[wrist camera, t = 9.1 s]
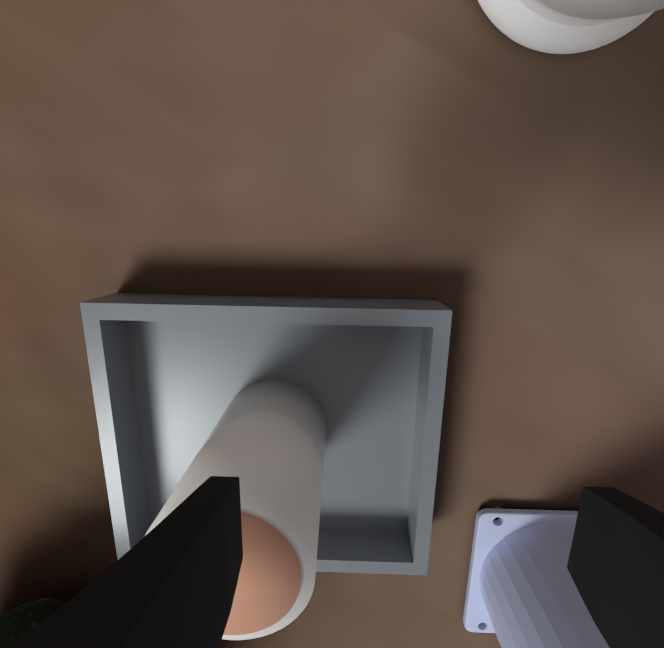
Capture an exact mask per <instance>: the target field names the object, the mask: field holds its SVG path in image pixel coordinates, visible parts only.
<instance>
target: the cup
mask: <svg viewBox="0 0 664 648" xmlns="http://www.w3.org/2000/svg"><path fill="white" fill-rule="evenodd" d="M325 442H326V419H325V415H324V413H323V410H322V408H321V406H320V405H319V403H318V402H317V400H316V399H315V398H314V397H313V396H312V395H311V394H310V393H309V392H308V391H306V390H305V389H303V388H302V387H300V386H298V385H296V384H293V383H290V382H287V381H282V380H265V381H260V382H256V383H254V384H251V385H249V386H247V387H246V388H244V389H243V390H241V391H240V392H239V393H238V394H237V395H236V396H235V397H234V399H233V400H232V401H231V403H230V404H229V406H228V408H227V409H226V411H225V412H224V414H223V415H222V417H221V418H220V420H219V421H218V423H217V424H216V426H215V428H214V429H213V431H212V432H211V434H210V435H209V437H208V438H207V440H206V441H205V443H204V445H203V446H202V448H201V449H200V451H199V452H198V454H197V455H196V457H195V458H194V460H193V461H192V463H191V465H190V466H189V468H188V469H187V471H186V472H185V474H184V475H183V477H182V478H181V480H180V482H179V483H178V485H177V486H176V488H175V489H174V491H173V492H172V494H171V495H170V497H169V498H168V500H167V502H166V503H165V505H164V506H163V508H162V509H161V511H160V512H159V514H158V515H157V517H156V519H155V520H154V522H153V523H152V525H151V526H150V528H149V529H148V531H147V532H146V535H147V534H148V533H149V532H150V531H151V530H152V529H154V528H155V527H156V526H157V525H158V524H159V523H160V522H161V521H162V520H163V519H164V518H166V517H167V516H168V515H169V514H170V513H171V512H172V511H173V510H174V509H175V508H176V507H177V506H179V505H180V504H181V503H182V502H183V501H184V500H185V499H186V498H187V497H188V496H189V495H190V494H192V493H193V492H194V491H195V490H196V489H197V488H198V487H199V486H200V485H201V484H203V483H204V482H205V481H206V480H207V479H208V478H209V477H210V476H224V477H239V483H240V503H241V524H242V545H243V560H242V564H241V569H240V573H239V578H238V582H237V587H236V591H235V595H234V599H233V604H232V608H231V612H230V615H229V618H228V622H227V625H226V628H225V631H224V634H223V637H222V639H224V640H247V639H254V638H259V637H263V636H266V635H269V634H272V633H274V632H276V631H278V630H280V629H282V628H284V627H285V626H287V625H288V624H290V623H291V622H292V621H293V620H295V619H296V618H297V617H298V616H299V615H300V614H301V612H302V611H303V610H304V609H305V607H306V605H307V604H308V602H309V600H310V598H311V596H312V593H313V589H314V585H315V575H316V561H317V548H318V535H319V522H320V508H321V495H322V482H323V469H324V455H325ZM146 535H145V536H146Z"/></svg>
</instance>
